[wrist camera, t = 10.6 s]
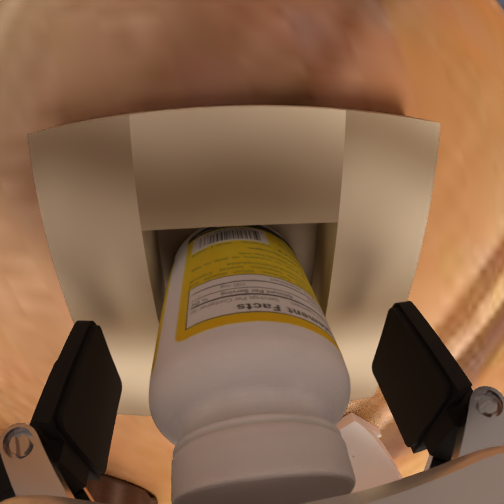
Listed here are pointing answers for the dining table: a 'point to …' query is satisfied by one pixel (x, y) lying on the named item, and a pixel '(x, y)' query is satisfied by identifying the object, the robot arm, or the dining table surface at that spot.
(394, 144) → the socket block
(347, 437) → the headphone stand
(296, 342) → the supplement bottle
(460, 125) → the dining table surface
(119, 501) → the plant pot
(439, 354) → the robot arm
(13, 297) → the dining table surface
